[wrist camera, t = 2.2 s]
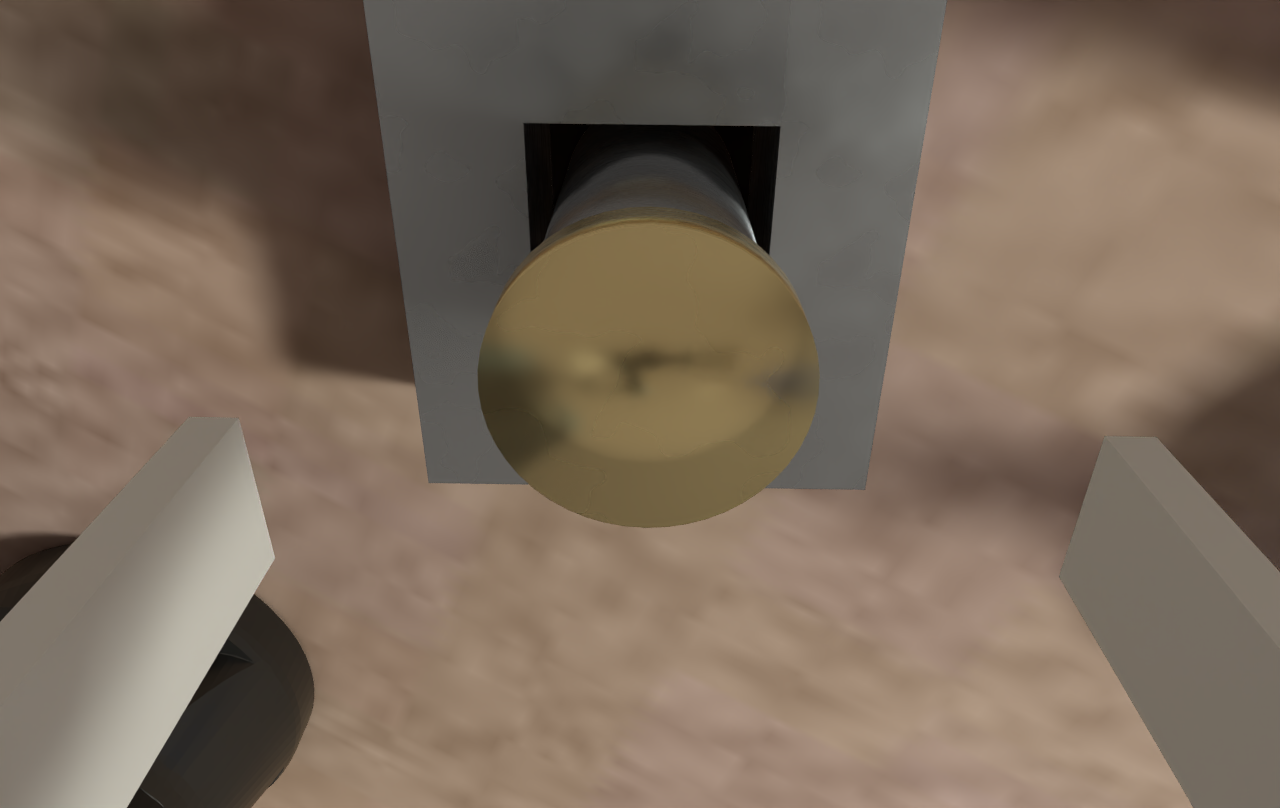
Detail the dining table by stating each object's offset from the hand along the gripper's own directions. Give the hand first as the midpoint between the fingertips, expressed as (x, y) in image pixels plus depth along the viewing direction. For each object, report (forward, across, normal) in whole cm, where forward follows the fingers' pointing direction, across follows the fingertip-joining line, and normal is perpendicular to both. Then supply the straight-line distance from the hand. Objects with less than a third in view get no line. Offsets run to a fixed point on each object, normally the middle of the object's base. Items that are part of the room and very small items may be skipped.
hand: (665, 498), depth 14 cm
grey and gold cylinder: (+18, 0, 0) cm, 18 cm away
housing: (+18, 0, 0) cm, 18 cm away
